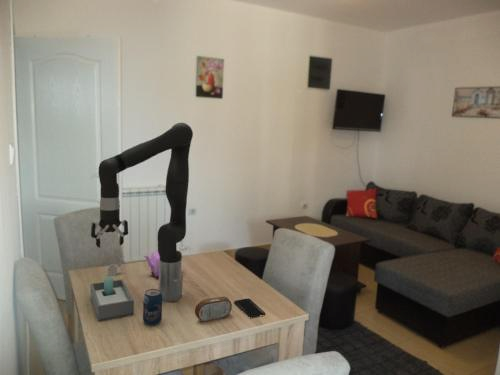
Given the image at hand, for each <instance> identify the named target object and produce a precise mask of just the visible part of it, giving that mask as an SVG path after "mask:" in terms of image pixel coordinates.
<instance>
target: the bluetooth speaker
mask: <svg viewBox="0 0 500 375" xmlns="http://www.w3.org/2000/svg"><path fill="white" fill-rule="evenodd" d="M232 307H233V304H232V302H231V300H230V299H229V298H228V297H227V296H217V297H212V298H206V299H202V300H200V301H199V302H198V303H197V304H196V306H195V308H194V314H195V317H196V318H197V319H198V320H199V321H200V322H210V321H215V320H221V319H224V318H226V317H228V316H229V315H230V314H231V311H232Z"/></svg>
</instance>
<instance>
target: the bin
mask: <svg viewBox="0 0 500 375" xmlns="http://www.w3.org/2000/svg"><path fill="white" fill-rule="evenodd" d="M90 298H91V299H90V300H91V302H92V306H93V309H94V314H95V316H96V319H97V321H98V322H102V321H109V320H112V319H113V320H114V319H119V318H122V317H123V318H125V317H130V316H134V315H135V314H134V311H135V307H134V306H135V303H134V302H135V300H134V298H133V296H132V294H131V292H130V290H129V289H128V287H127V285H126V283H125V281H124V279H113V295H108V296H104V281H101V282H93V283H90Z"/></svg>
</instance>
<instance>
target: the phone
mask: <svg viewBox="0 0 500 375" xmlns="http://www.w3.org/2000/svg"><path fill="white" fill-rule="evenodd" d="M233 304H234V305H235V306H236V307H237V308H238V309H239V310H240V311H241V312H242V311H243V312H244V313H245V314H246V315H247V316H248V317H250V318H249V319H252V318H251V317H256V318H257V317H258V316H260V315H265V316H266V312H265V311H264V310H263V309H262V308H260V306H258V305H257V304H256V302H254V301H253V300H252V299H251V298H242V299H238V300H237V299H236V300H234V301H233ZM243 312H242V313H243ZM244 313H243V314H244ZM245 314H244V315H245ZM246 315H245V316H246ZM247 316H246V317H247ZM248 317H247V318H248Z"/></svg>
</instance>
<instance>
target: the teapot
mask: <svg viewBox="0 0 500 375" xmlns="http://www.w3.org/2000/svg"><path fill="white" fill-rule="evenodd" d="M150 253H151V254H150V255H151V256H149V255H148V254H146V255H145V254H144V255H142V257H144V258H145V259H146V261H147V265H148V267H150V270H151V272H152V273H153V275H154V277H156V278H157V279H159V264H160V256H159V253H158V250H157V251H151V252H150Z"/></svg>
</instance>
